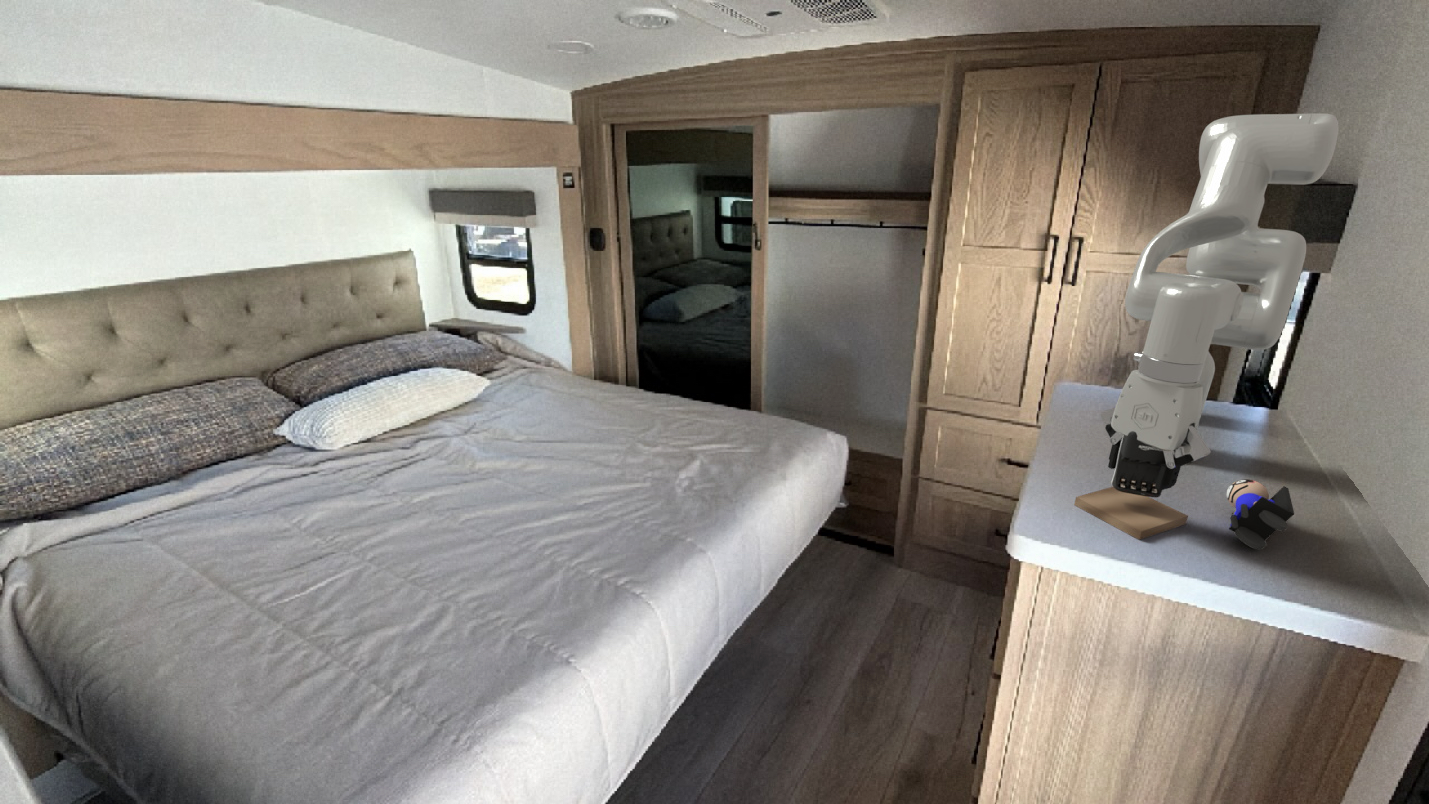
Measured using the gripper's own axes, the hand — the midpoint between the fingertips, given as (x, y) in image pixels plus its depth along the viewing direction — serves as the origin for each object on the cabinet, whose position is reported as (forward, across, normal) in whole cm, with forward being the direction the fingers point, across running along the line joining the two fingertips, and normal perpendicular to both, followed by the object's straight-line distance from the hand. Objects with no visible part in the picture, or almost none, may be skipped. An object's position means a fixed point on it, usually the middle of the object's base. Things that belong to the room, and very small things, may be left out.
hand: (1139, 476), depth 99 cm
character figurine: (+7, +11, +12) cm, 18 cm away
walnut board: (+7, 0, 0) cm, 7 cm away
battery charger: (+3, 0, 0) cm, 3 cm away
